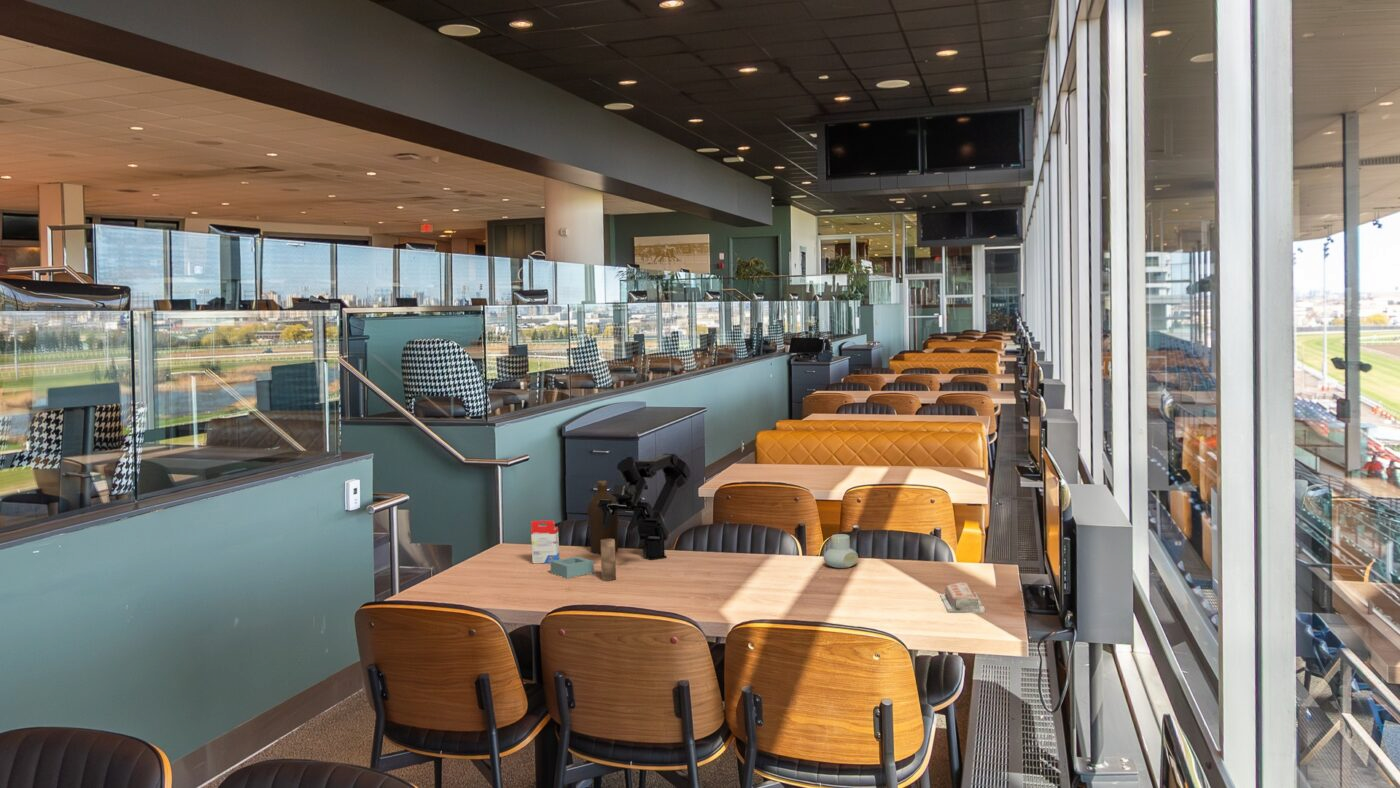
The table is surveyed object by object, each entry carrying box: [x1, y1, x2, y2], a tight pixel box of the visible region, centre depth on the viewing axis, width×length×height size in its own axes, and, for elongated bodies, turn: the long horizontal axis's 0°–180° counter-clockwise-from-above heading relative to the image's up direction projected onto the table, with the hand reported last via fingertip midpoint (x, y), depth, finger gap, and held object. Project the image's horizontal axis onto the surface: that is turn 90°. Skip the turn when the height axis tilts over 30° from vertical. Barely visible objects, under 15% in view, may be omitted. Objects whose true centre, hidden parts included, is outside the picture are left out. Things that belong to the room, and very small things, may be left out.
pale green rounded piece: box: [823, 533, 859, 569], centre depth 342 cm, size 11×8×10 cm
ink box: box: [530, 520, 561, 564], centre depth 360 cm, size 8×5×15 cm, turn 84°
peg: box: [600, 539, 617, 582], centre depth 333 cm, size 4×4×12 cm
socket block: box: [550, 556, 595, 579], centre depth 343 cm, size 10×10×4 cm
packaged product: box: [939, 581, 986, 614], centre depth 293 cm, size 18×5×10 cm
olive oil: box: [587, 479, 619, 555], centre depth 375 cm, size 11×11×25 cm
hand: (616, 529), depth 340 cm, fingers open, 9 cm apart
